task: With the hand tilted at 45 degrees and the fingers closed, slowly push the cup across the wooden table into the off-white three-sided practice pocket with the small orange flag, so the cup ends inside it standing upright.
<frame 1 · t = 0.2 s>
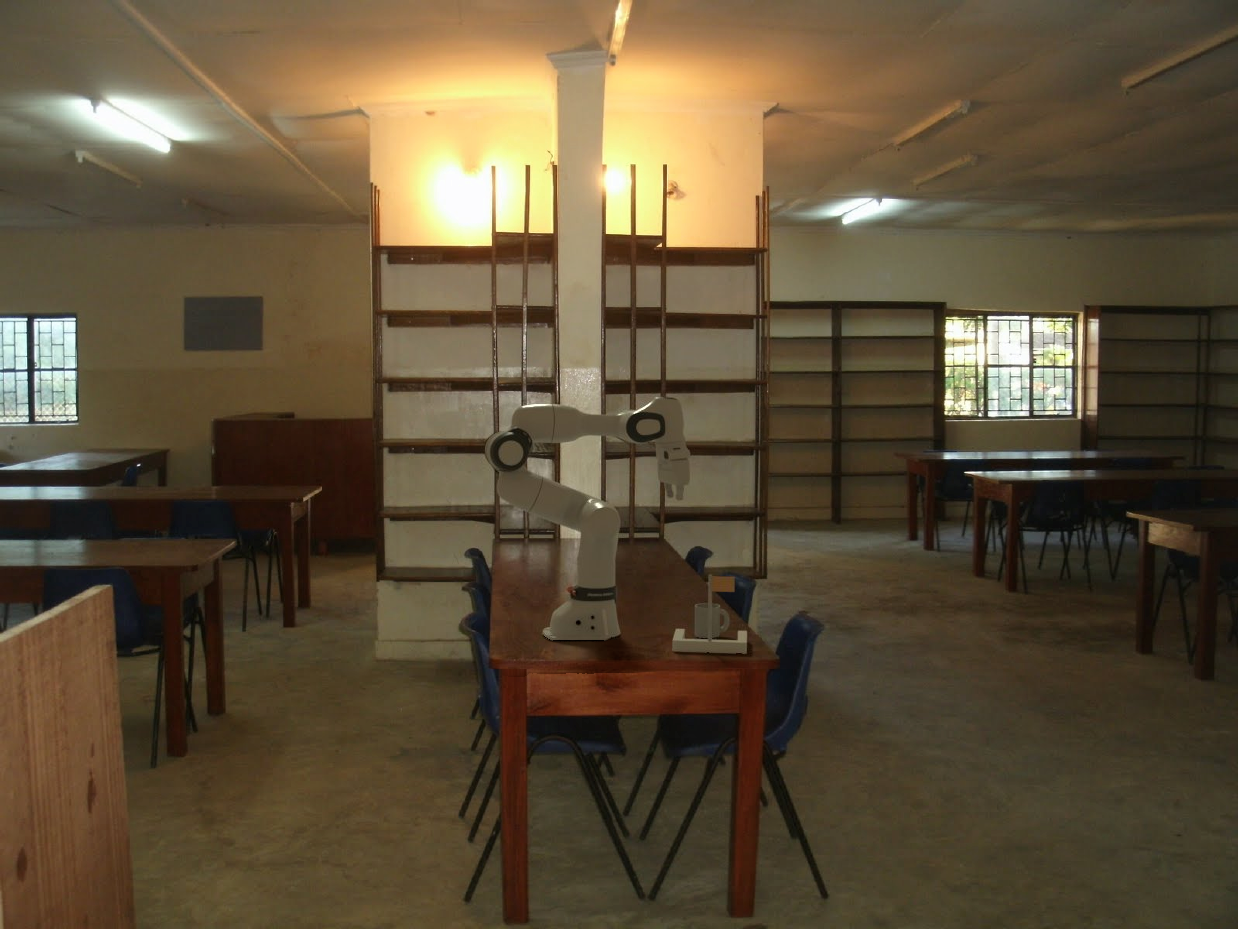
hand: (674, 498, 315), 39 cm above the table, tool pointing down, fingers open, 8 cm apart
cup: (712, 637, 310), on the table
practice pocket: (710, 645, 299), on the table
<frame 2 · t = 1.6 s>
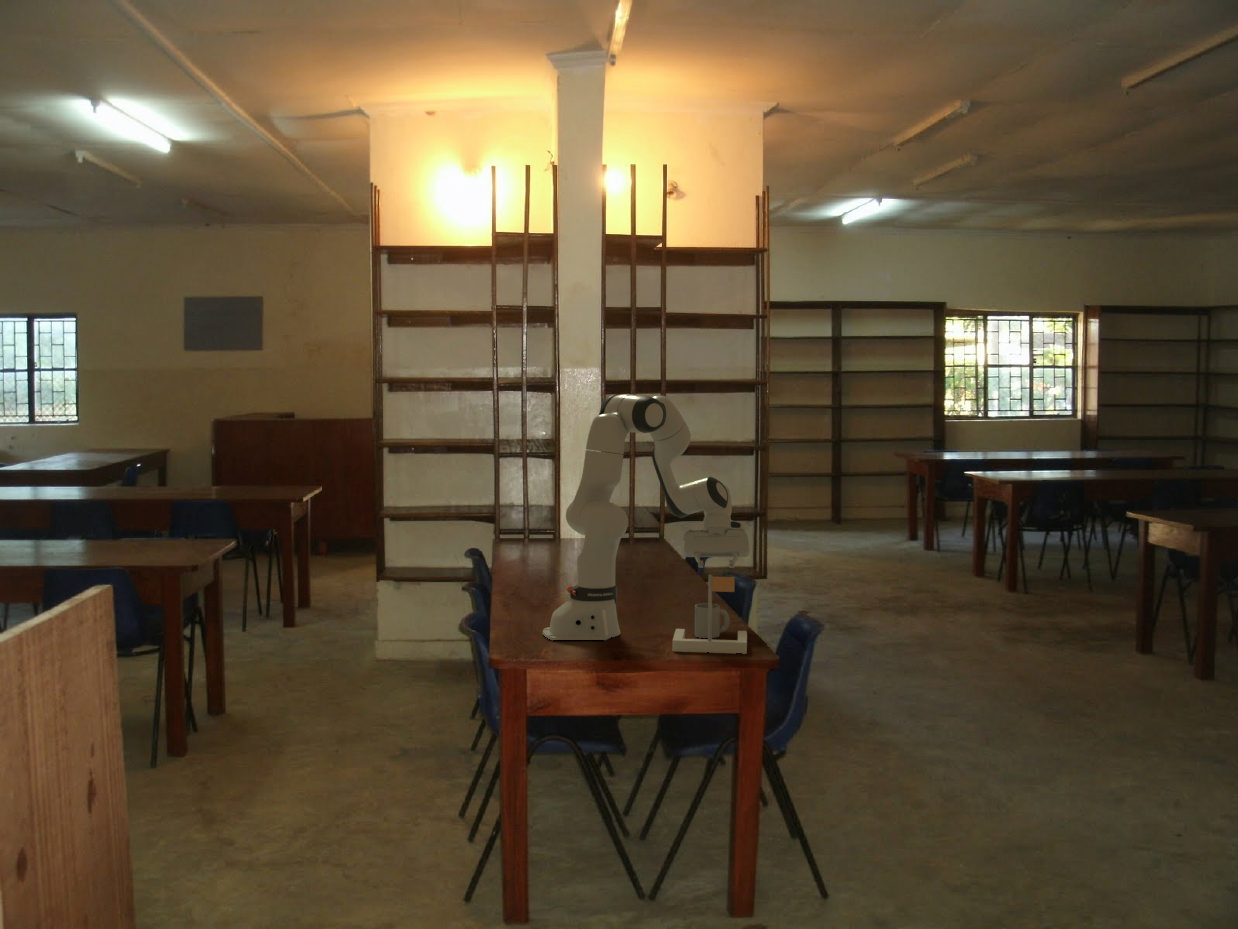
hand: (716, 566, 328), 17 cm above the table, tool tilted 45°, fingers open, 8 cm apart
nothing on the table moved.
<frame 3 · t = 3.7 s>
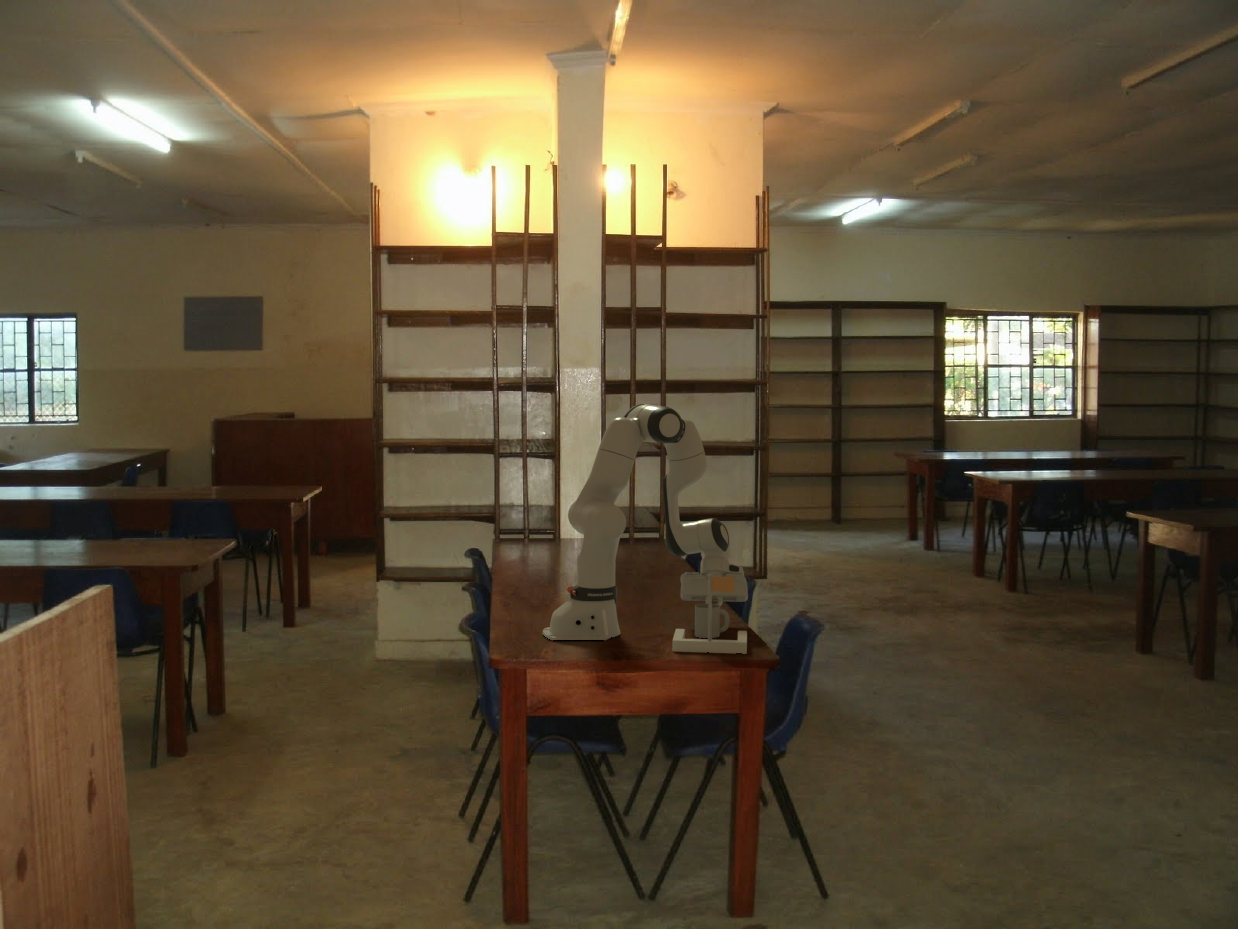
hand: (713, 611, 320), 5 cm above the table, tool tilted 45°, fingers closed
nothing on the table moved.
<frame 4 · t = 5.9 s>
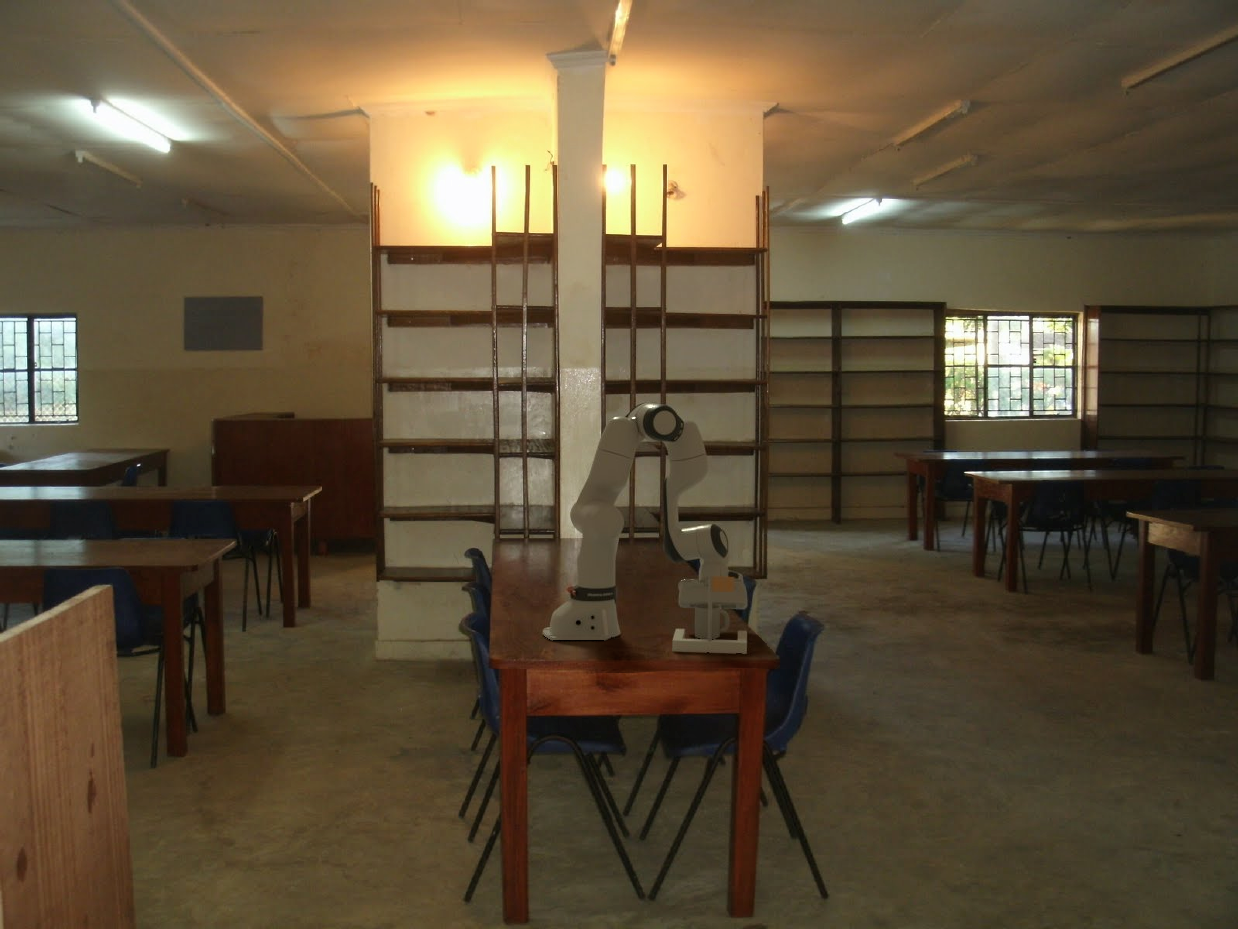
hand: (712, 619, 313), 4 cm above the table, tool tilted 45°, fingers closed
cup: (712, 637, 309), on the table, touching gripper
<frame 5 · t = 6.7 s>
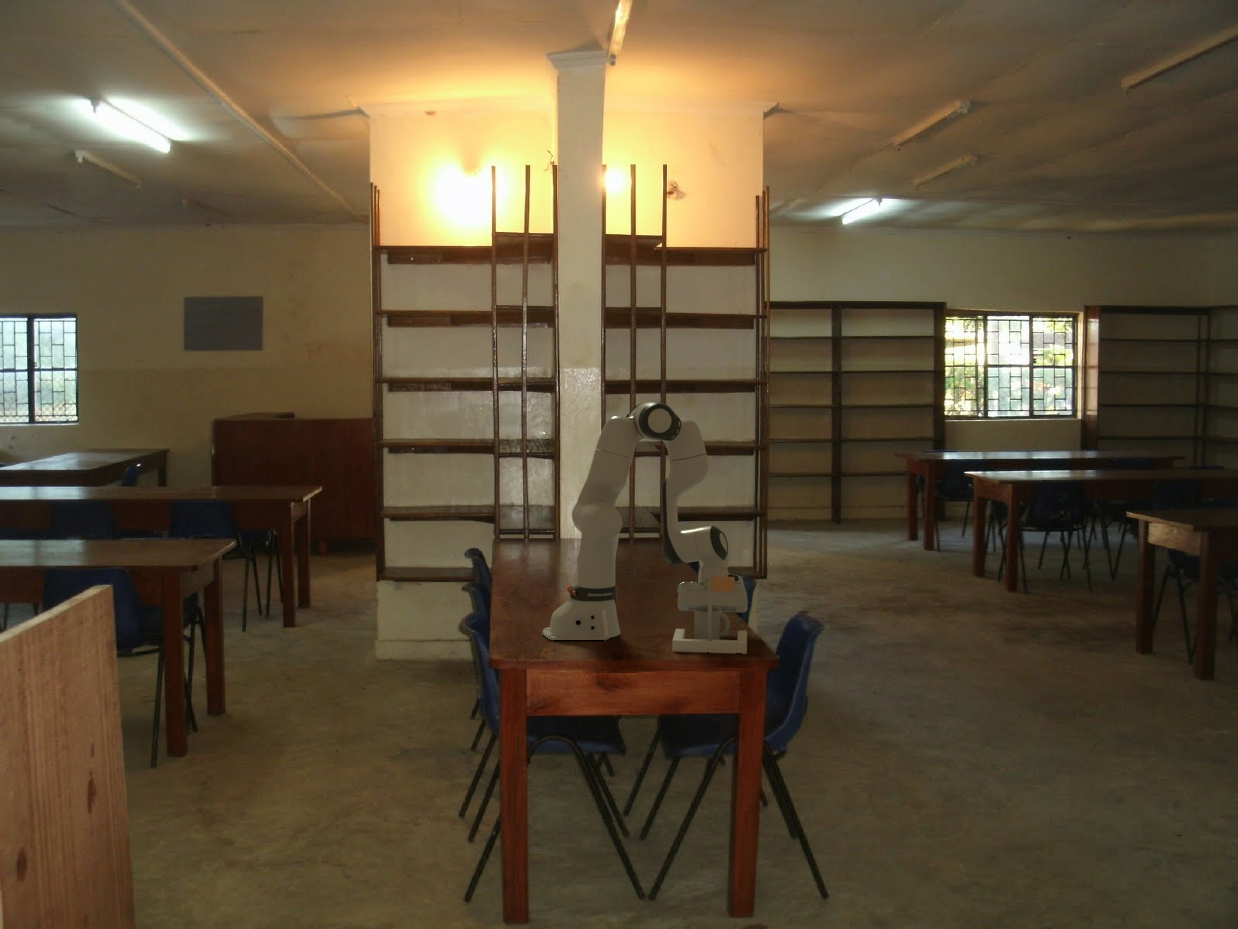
hand: (711, 622, 308), 4 cm above the table, tool tilted 45°, fingers closed
cup: (711, 641, 305), on the table, touching gripper
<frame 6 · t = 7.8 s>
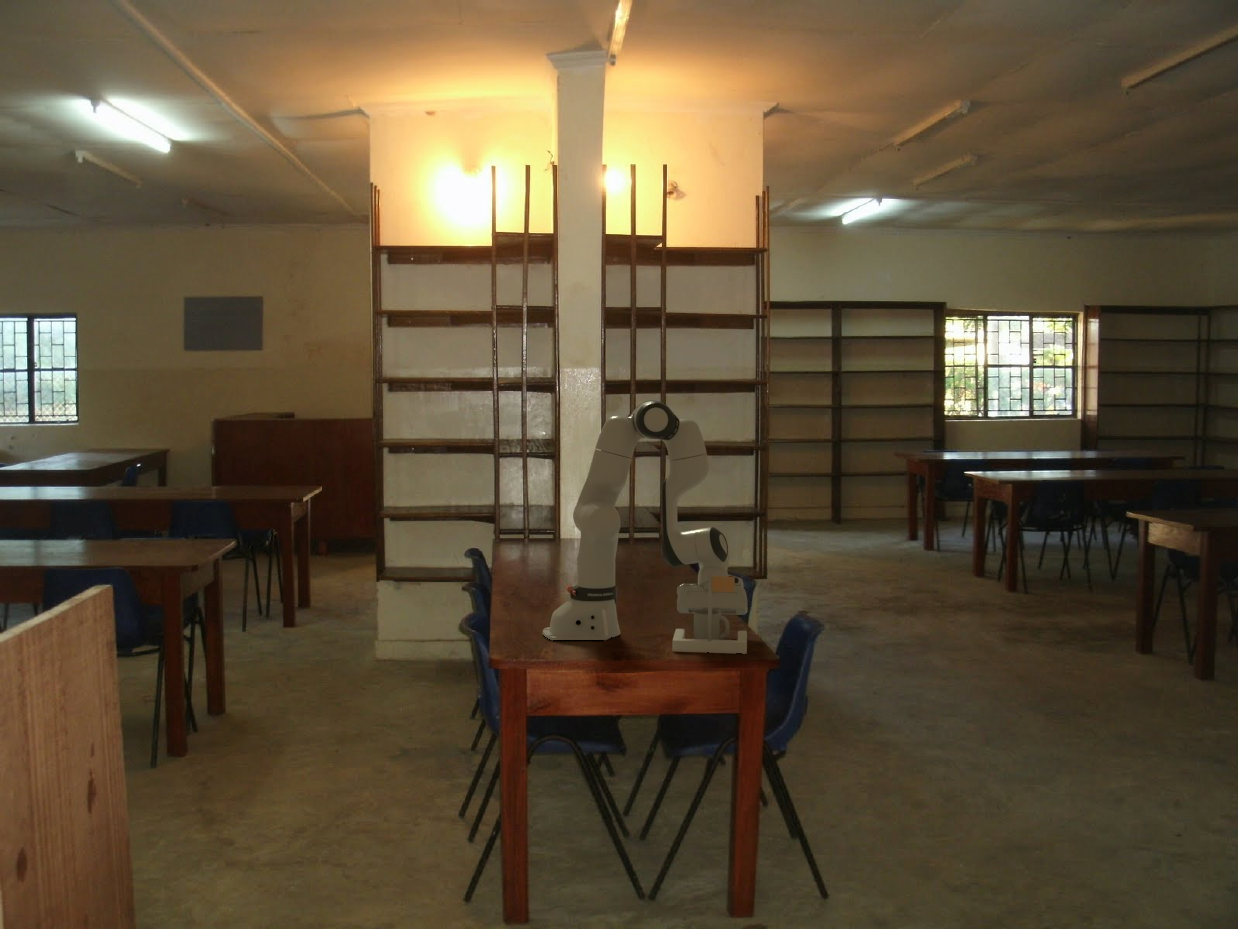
hand: (711, 625, 305), 4 cm above the table, tool tilted 45°, fingers closed
cup: (711, 644, 301), on the table, touching gripper
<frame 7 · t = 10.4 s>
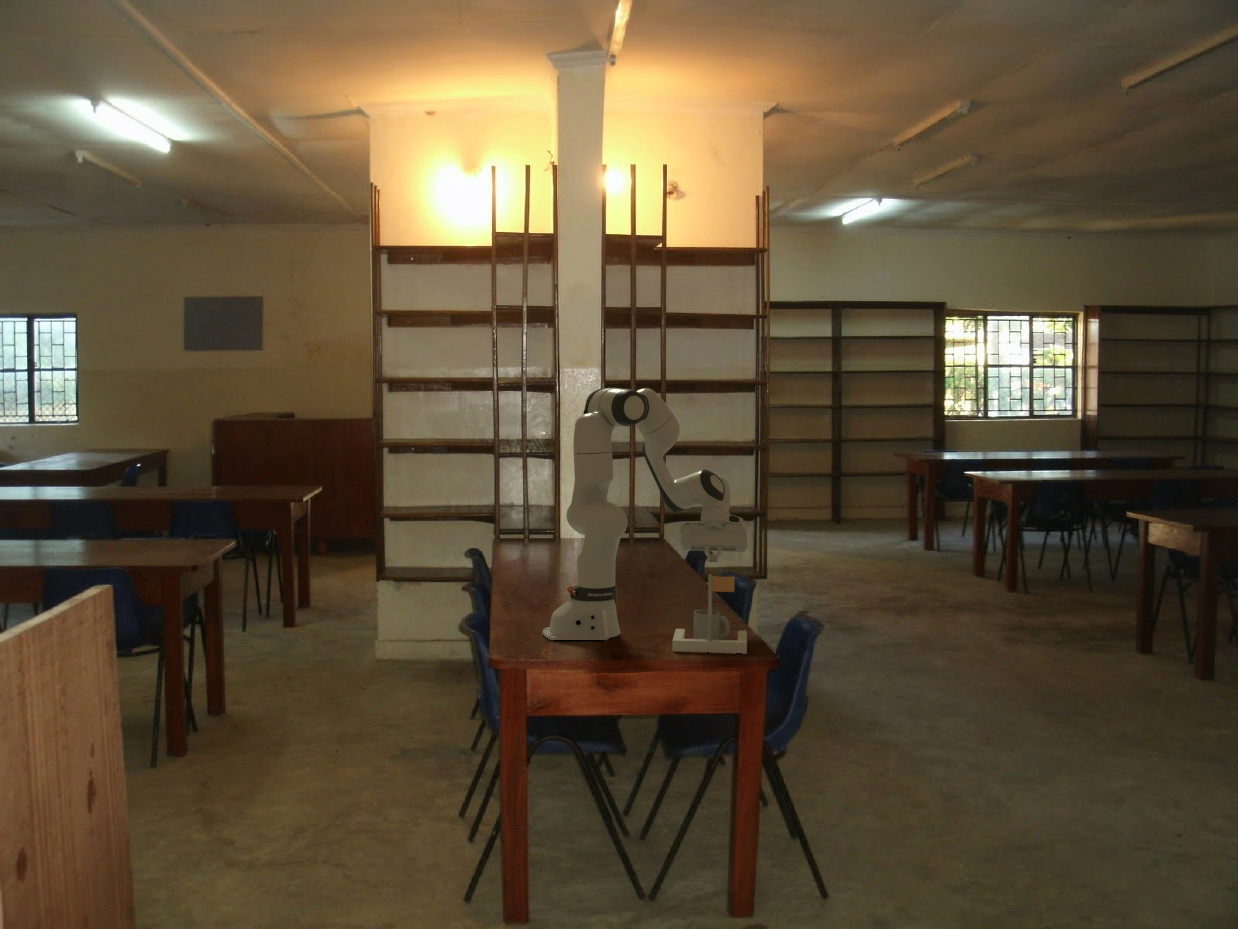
hand: (712, 561, 321), 20 cm above the table, tool tilted 45°, fingers closed
cup: (711, 644, 301), on the table
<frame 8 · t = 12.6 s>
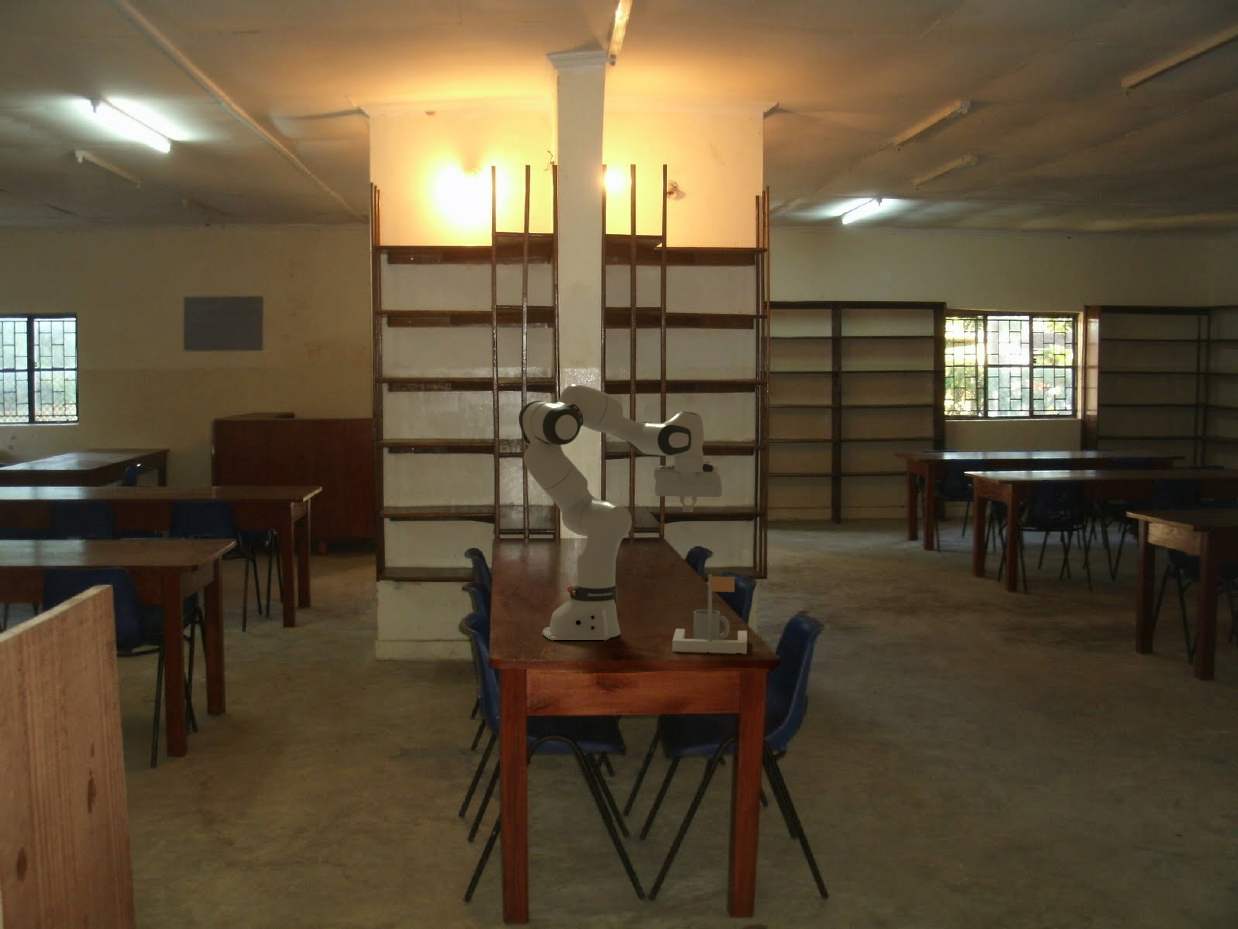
hand: (688, 511, 325), 34 cm above the table, tool pointing down, fingers closed
nothing on the table moved.
at the end: cup inside the target area on the practice pocket (2.0 cm from its centre), point 0.0 cm above the practice pocket's base; cup tilted 0°; cup moved 8.9 cm from its start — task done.
